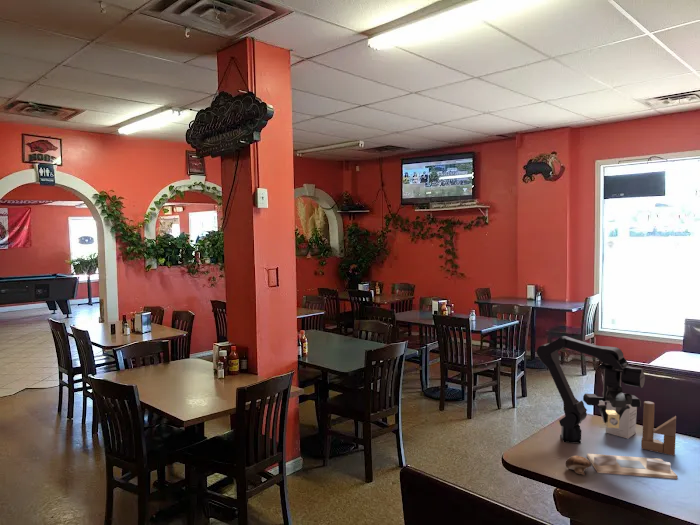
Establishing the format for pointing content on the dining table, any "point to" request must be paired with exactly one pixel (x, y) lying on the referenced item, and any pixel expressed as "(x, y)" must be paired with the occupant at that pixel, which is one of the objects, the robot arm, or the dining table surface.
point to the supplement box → (624, 422)
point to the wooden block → (665, 429)
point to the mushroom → (578, 464)
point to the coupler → (612, 419)
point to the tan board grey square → (631, 466)
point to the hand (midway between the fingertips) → (610, 422)
